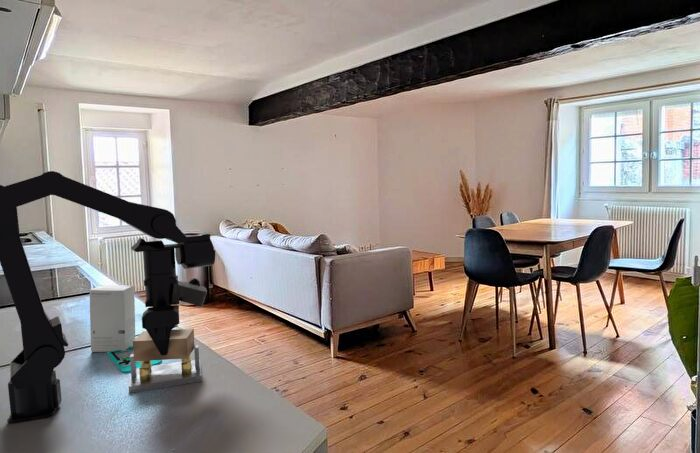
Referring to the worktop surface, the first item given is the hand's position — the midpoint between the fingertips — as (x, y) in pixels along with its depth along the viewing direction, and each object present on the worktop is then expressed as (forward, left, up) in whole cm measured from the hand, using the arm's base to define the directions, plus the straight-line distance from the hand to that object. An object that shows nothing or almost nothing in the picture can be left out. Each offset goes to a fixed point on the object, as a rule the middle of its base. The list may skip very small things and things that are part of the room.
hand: (164, 348), depth 91 cm
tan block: (0, 0, -1) cm, 1 cm away
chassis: (0, 0, -6) cm, 6 cm away
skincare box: (-12, +23, -6) cm, 27 cm away
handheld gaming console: (-7, +14, -7) cm, 17 cm away
